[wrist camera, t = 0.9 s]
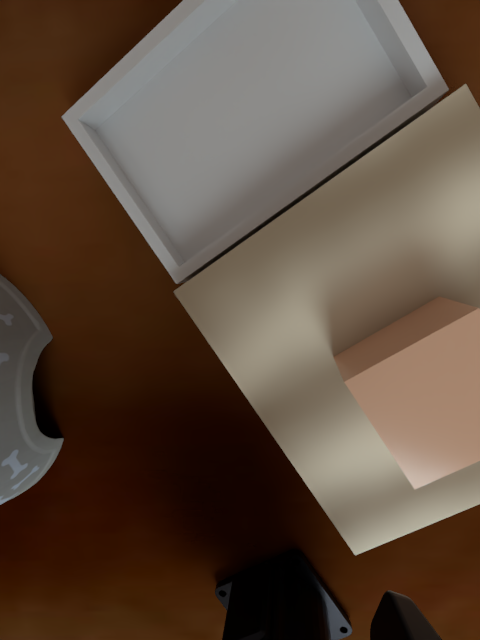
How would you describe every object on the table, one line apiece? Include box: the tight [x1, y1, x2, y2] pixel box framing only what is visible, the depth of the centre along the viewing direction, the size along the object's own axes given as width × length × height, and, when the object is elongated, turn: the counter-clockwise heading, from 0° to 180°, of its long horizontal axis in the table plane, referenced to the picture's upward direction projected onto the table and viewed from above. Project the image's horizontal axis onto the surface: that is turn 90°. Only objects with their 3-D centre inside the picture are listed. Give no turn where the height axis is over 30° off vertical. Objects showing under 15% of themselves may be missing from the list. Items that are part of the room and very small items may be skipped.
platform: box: [173, 84, 480, 555], centre depth 16 cm, size 16×14×3 cm
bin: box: [62, 0, 449, 284], centre depth 15 cm, size 9×14×2 cm
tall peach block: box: [334, 297, 480, 489], centre depth 13 cm, size 5×5×3 cm
